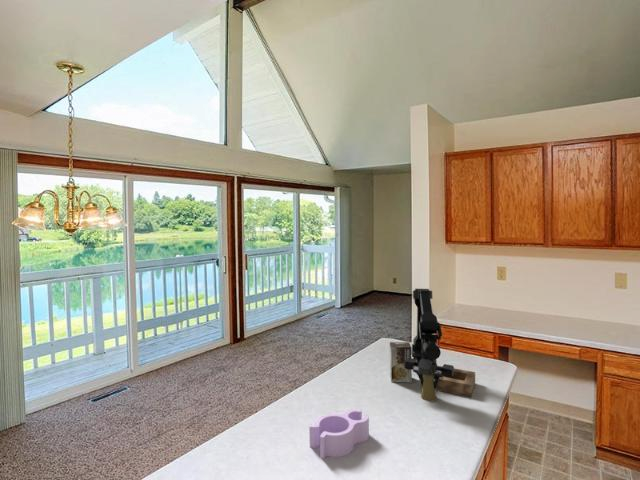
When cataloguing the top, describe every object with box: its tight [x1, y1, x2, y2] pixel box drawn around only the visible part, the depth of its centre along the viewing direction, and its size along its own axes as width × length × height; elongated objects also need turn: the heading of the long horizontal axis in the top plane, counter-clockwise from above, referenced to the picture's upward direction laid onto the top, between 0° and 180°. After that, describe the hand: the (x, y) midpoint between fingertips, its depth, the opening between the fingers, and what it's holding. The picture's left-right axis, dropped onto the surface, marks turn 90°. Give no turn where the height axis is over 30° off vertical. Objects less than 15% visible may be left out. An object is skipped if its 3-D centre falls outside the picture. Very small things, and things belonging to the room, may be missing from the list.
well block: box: [435, 365, 476, 398], centre depth 159 cm, size 14×14×5 cm
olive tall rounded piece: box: [420, 372, 437, 402], centre depth 149 cm, size 6×6×11 cm
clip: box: [308, 408, 370, 459], centre depth 121 cm, size 20×12×7 cm, turn 122°
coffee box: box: [389, 341, 413, 383], centre depth 166 cm, size 9×6×16 cm
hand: (428, 387), depth 150 cm, fingers closed on olive tall rounded piece, 4 cm apart
